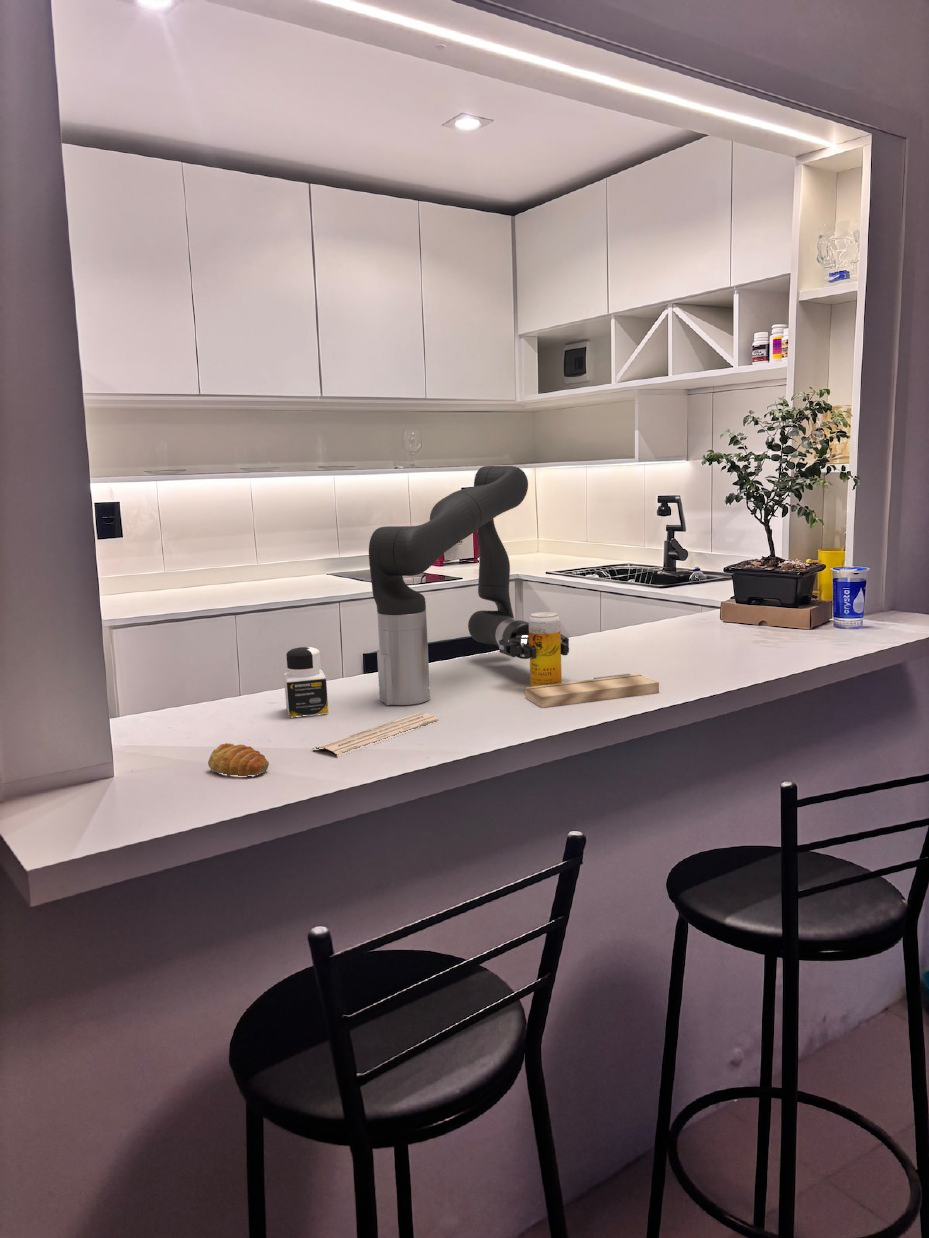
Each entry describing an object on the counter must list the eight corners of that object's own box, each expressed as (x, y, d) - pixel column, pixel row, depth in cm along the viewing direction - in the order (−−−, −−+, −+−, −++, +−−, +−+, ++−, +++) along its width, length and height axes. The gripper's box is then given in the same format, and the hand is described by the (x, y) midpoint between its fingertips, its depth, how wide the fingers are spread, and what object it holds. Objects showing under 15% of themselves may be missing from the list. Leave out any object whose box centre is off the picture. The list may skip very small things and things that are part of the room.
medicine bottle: (289, 718, 160) (284, 654, 158) (286, 709, 167) (281, 647, 165) (328, 714, 162) (324, 650, 160) (324, 705, 169) (320, 643, 167)
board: (541, 707, 160) (541, 696, 160) (525, 697, 168) (525, 687, 168) (658, 692, 168) (658, 681, 167) (638, 683, 175) (638, 673, 175)
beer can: (525, 692, 172) (523, 616, 170) (538, 685, 178) (535, 611, 175) (554, 694, 169) (552, 617, 167) (566, 687, 175) (564, 612, 172)
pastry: (280, 770, 133) (278, 745, 132) (246, 784, 127) (244, 758, 127) (237, 760, 138) (235, 737, 137) (203, 774, 132) (200, 749, 132)
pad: (609, 686, 174) (609, 685, 174) (593, 679, 180) (593, 677, 180) (645, 682, 176) (645, 680, 176) (628, 675, 183) (628, 673, 183)
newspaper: (337, 761, 137) (336, 750, 137) (307, 754, 141) (307, 743, 141) (439, 725, 155) (438, 715, 154) (409, 719, 159) (409, 709, 159)
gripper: (485, 623, 183) (514, 636, 167) (549, 617, 187) (584, 629, 171) (486, 658, 184) (516, 674, 168) (550, 651, 188) (584, 667, 173)
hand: (550, 651), depth 170 cm, fingers closed on beer can, 6 cm apart
